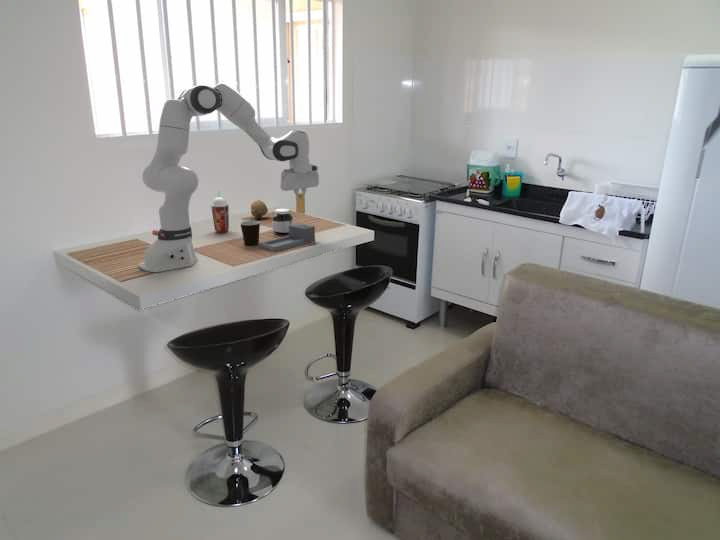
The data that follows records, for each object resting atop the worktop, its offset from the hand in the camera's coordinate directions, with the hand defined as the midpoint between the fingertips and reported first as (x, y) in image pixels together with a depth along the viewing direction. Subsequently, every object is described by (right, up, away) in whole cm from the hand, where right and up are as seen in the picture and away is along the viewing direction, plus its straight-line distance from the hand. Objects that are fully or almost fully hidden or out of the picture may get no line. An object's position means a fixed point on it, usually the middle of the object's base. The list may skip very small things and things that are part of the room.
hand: (300, 198), depth 243 cm
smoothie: (-41, -14, +23) cm, 49 cm away
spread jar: (-12, -14, +21) cm, 28 cm away
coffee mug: (-22, -21, +2) cm, 30 cm away
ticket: (0, -6, +2) cm, 7 cm away
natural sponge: (-28, -4, +50) cm, 58 cm away
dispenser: (-6, -21, +1) cm, 21 cm away
